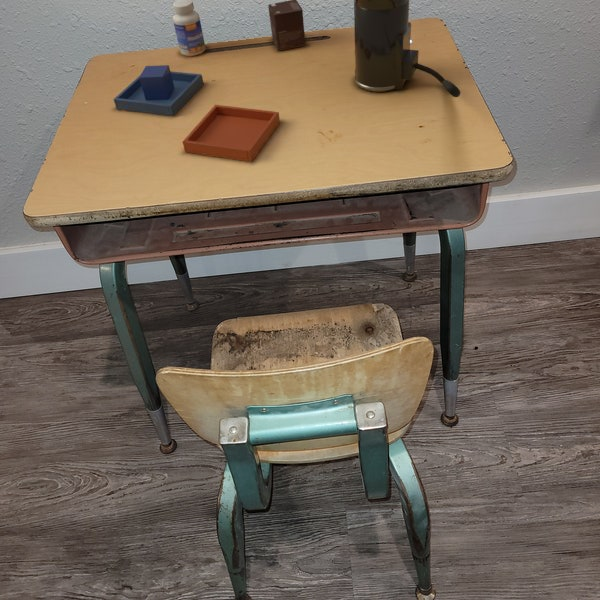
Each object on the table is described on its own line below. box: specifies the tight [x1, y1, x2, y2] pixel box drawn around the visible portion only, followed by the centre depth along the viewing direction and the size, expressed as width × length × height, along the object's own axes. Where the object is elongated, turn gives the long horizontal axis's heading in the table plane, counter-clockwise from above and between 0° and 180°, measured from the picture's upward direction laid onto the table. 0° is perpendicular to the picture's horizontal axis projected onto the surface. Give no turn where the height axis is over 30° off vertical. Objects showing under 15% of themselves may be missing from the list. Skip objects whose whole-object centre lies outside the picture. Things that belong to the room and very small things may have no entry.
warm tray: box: [182, 104, 281, 163], centre depth 100 cm, size 12×12×2 cm
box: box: [267, 0, 306, 51], centre depth 122 cm, size 6×6×7 cm
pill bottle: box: [172, 0, 206, 57], centre depth 122 cm, size 5×5×10 cm
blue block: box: [138, 64, 174, 100], centre depth 111 cm, size 4×4×4 cm
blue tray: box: [112, 70, 204, 117], centre depth 112 cm, size 12×12×2 cm
